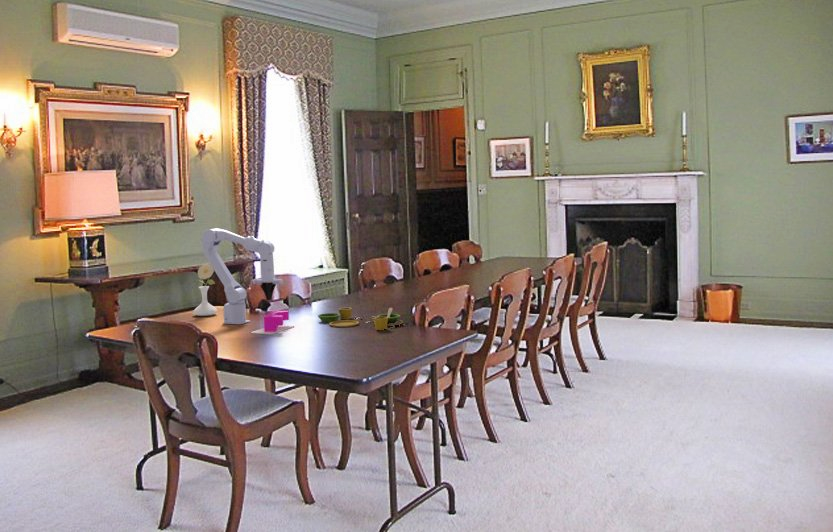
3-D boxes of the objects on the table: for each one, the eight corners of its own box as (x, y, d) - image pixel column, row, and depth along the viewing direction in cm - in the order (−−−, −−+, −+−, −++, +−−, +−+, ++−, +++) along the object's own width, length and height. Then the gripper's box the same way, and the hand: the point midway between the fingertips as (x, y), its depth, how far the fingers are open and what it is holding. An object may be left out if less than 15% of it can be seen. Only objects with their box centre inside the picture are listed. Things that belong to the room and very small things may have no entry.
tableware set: (416, 326, 347) (416, 312, 346) (361, 335, 330) (361, 320, 330) (363, 315, 380) (362, 301, 379) (311, 322, 363) (310, 308, 362)
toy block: (264, 331, 338) (282, 331, 338) (263, 317, 337) (281, 316, 337) (271, 325, 353) (289, 325, 353) (271, 311, 352) (288, 310, 352)
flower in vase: (187, 316, 386) (185, 264, 383) (206, 312, 395) (203, 261, 392) (206, 318, 378) (204, 265, 376) (225, 314, 388) (222, 262, 385)
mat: (250, 333, 338) (250, 332, 338) (274, 325, 355) (274, 324, 355) (271, 334, 334) (271, 333, 334) (294, 326, 351) (294, 325, 351)
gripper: (248, 270, 359) (250, 300, 360) (276, 270, 353) (278, 301, 354) (257, 268, 365) (259, 298, 367) (285, 268, 359) (286, 299, 361)
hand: (269, 299), depth 361 cm, fingers closed
